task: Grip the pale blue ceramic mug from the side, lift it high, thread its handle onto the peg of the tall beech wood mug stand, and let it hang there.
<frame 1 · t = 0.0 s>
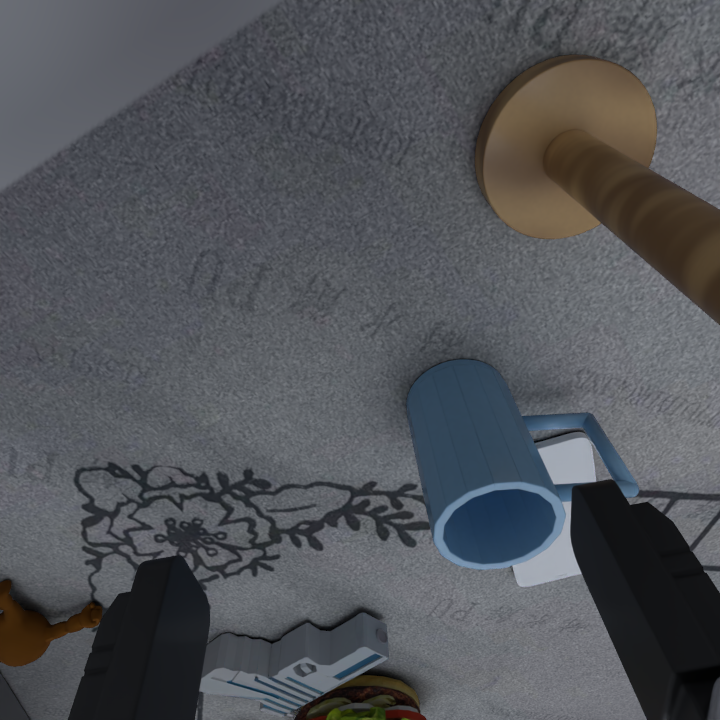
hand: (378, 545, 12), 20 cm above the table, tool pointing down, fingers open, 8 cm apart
toy gun: (243, 632, 46), point 2 cm above the table
food: (363, 700, 57), on the table
mug: (456, 400, 36), on the table
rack: (556, 148, 27), on the table
smartphone: (546, 510, 42), on the table
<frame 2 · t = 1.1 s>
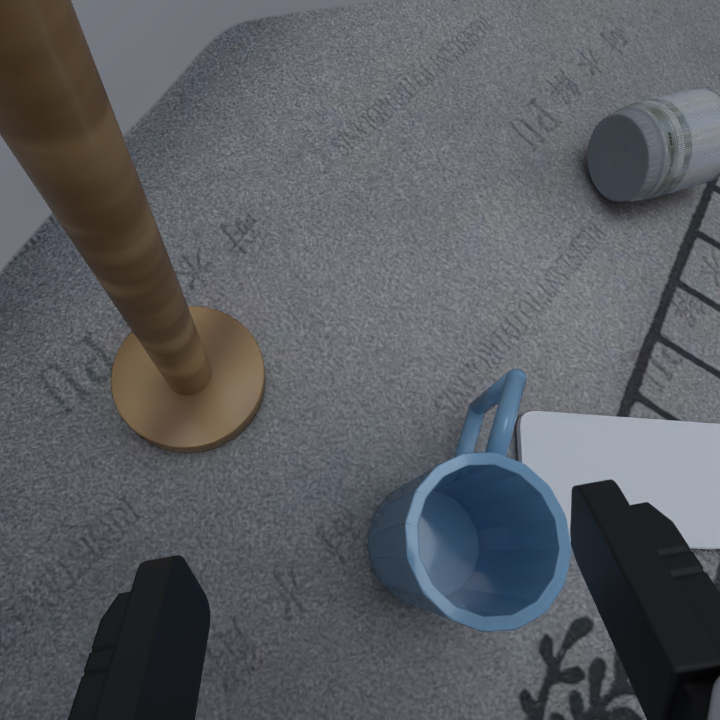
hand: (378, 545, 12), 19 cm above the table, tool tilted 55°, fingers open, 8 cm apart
camera lens: (613, 159, 37), point 3 cm above the table
mug: (426, 543, 31), on the table
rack: (193, 382, 32), on the table
smartphone: (639, 481, 33), on the table
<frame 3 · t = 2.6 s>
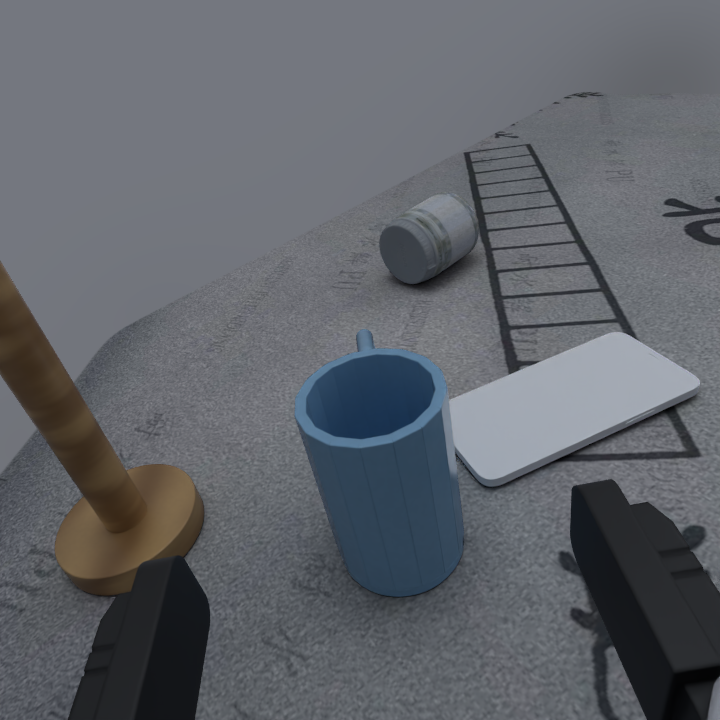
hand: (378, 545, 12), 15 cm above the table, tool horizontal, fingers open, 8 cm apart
camera lens: (400, 256, 49), point 3 cm above the table
mug: (401, 540, 29), on the table
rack: (137, 533, 33), on the table
smartphone: (560, 407, 35), on the table
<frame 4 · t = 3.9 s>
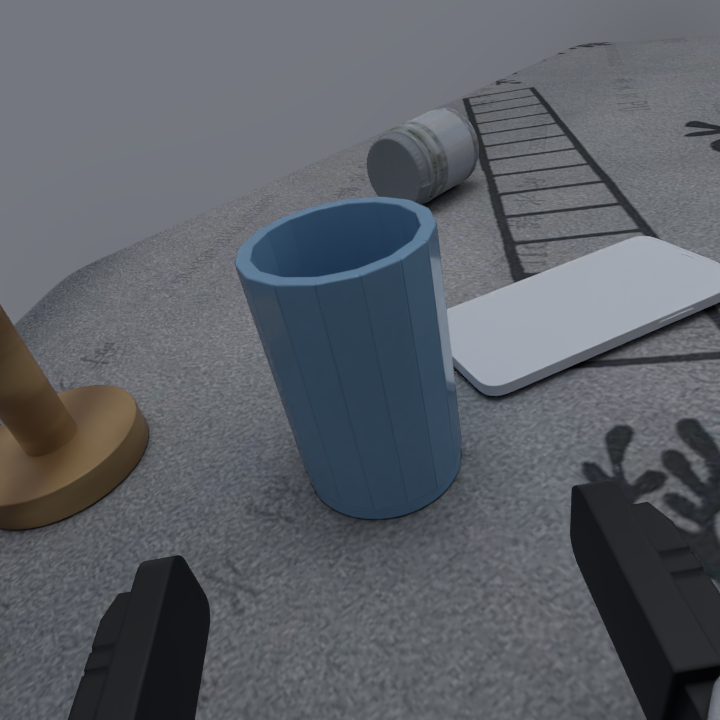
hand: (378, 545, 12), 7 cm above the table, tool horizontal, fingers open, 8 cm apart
camera lens: (390, 176, 44), point 3 cm above the table
mug: (384, 457, 24), on the table
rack: (67, 461, 27), on the table
smartphone: (577, 315, 29), on the table
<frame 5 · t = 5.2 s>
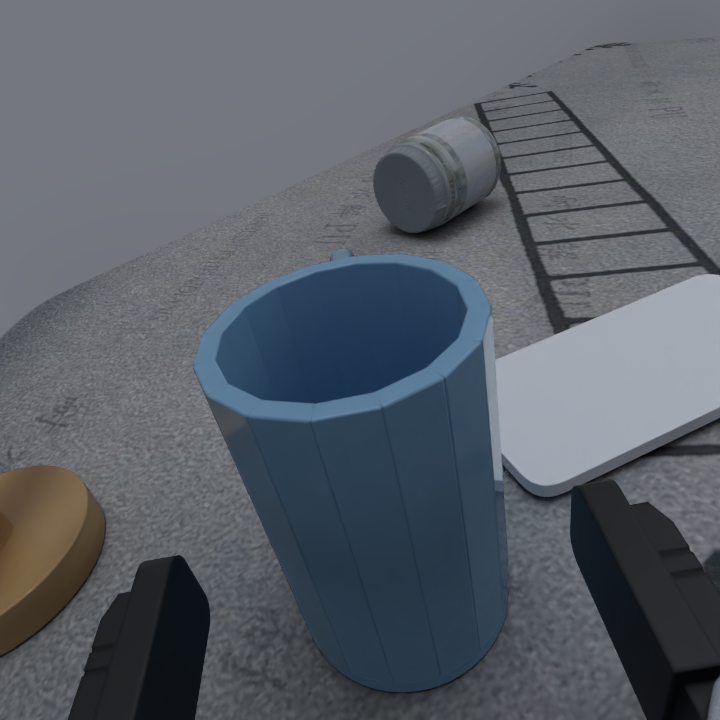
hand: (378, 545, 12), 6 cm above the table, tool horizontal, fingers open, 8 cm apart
camera lens: (400, 195, 38), point 3 cm above the table
mug: (404, 586, 18), on the table
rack: (1, 570, 22), on the table
smartphone: (638, 378, 24), on the table
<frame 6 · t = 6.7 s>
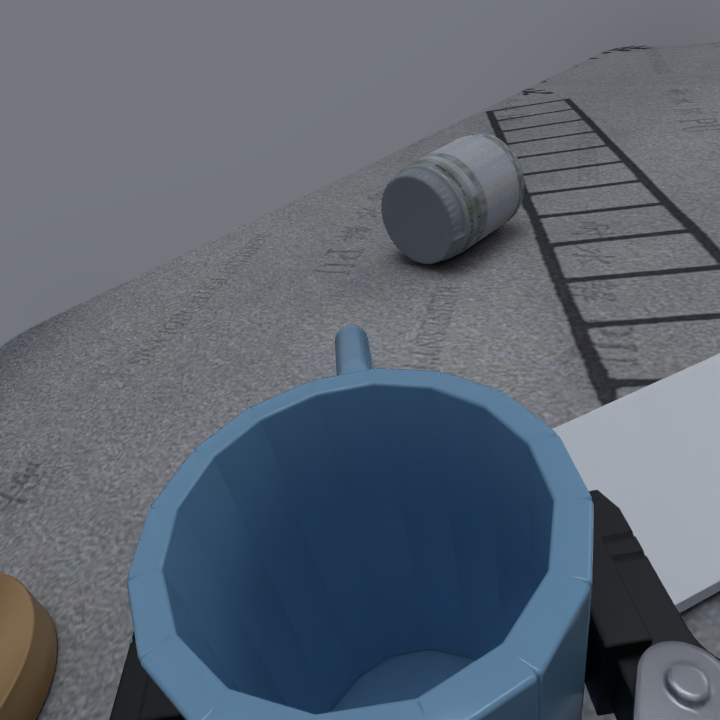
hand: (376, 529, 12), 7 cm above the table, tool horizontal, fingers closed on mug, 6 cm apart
camera lens: (412, 223, 34), point 3 cm above the table
smartphone: (708, 467, 20), on the table
when the fingers open (34 cm above the table, at t = 18.2 s): mug moves 11 cm and tips over, resting on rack.
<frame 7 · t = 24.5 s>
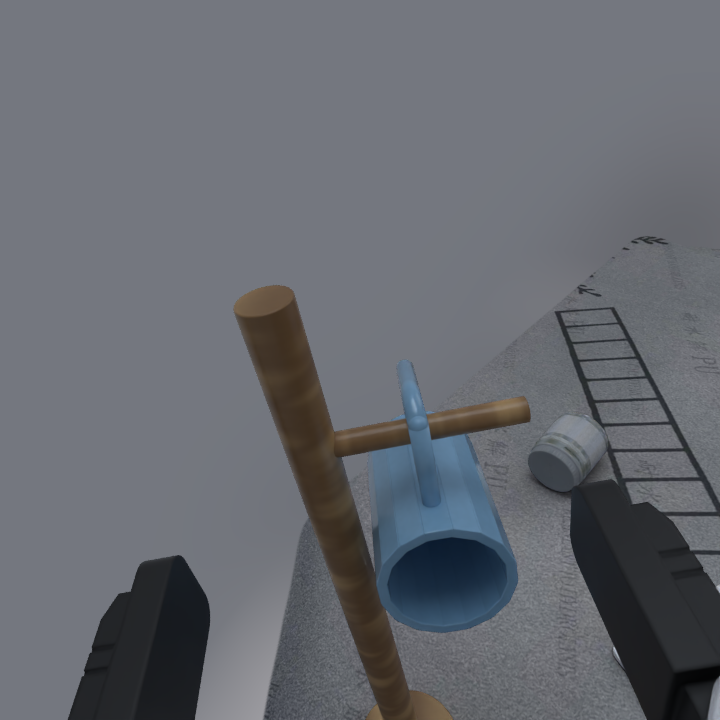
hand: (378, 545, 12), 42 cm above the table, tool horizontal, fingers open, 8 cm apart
camera lens: (549, 472, 62), point 3 cm above the table
mug: (419, 455, 35), point 27 cm above the table, tilted 81°, touching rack
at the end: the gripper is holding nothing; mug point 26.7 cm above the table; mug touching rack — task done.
